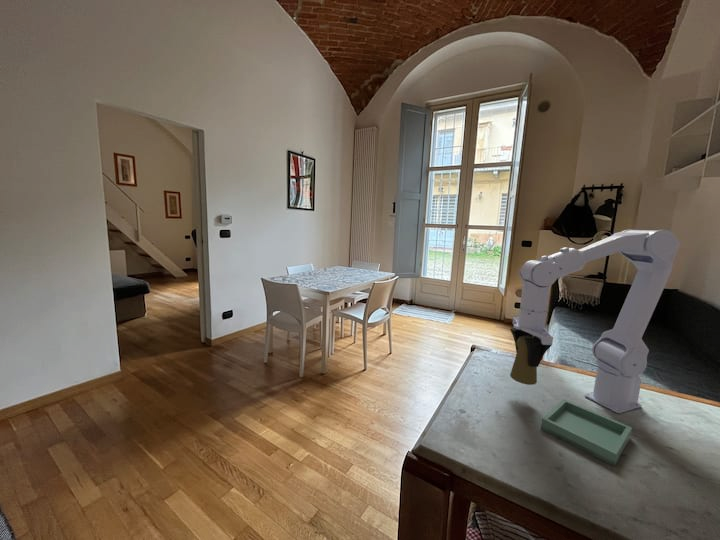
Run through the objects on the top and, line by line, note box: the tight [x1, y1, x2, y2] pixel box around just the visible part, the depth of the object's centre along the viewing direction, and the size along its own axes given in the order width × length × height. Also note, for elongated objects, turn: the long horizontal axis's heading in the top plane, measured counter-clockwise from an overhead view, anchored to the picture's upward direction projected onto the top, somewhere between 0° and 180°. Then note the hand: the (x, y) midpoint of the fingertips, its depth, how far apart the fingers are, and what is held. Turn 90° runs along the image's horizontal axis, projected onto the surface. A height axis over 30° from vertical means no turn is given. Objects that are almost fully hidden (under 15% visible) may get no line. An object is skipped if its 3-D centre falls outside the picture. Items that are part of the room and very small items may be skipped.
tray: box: [540, 398, 633, 467], centre depth 63 cm, size 13×13×2 cm
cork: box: [509, 336, 538, 386], centre depth 75 cm, size 6×6×11 cm
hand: (527, 360), depth 75 cm, fingers closed on cork, 5 cm apart
